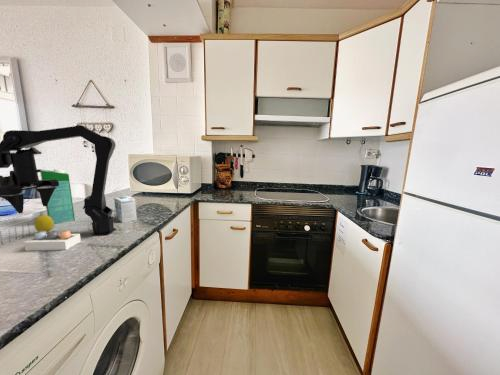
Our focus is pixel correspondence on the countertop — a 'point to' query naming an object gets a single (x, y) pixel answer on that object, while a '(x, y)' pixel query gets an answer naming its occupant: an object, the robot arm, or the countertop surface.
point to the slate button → (40, 235)
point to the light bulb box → (125, 208)
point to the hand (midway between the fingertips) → (33, 209)
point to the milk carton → (59, 197)
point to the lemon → (44, 223)
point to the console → (52, 243)
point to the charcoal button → (52, 235)
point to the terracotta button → (65, 235)
